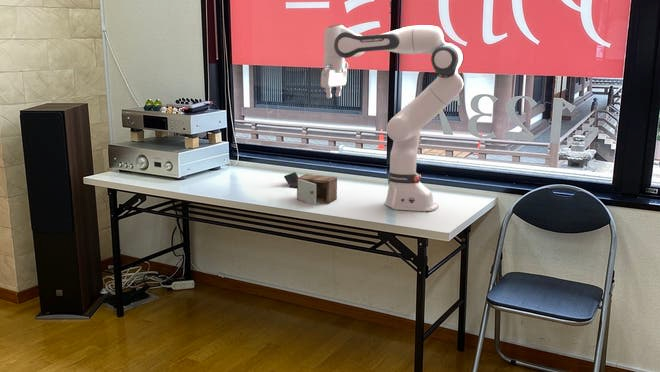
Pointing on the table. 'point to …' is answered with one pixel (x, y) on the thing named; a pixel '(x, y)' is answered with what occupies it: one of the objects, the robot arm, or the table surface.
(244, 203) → the table surface
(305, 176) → the walnut cabinet
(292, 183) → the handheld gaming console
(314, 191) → the cabinet door
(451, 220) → the table surface
